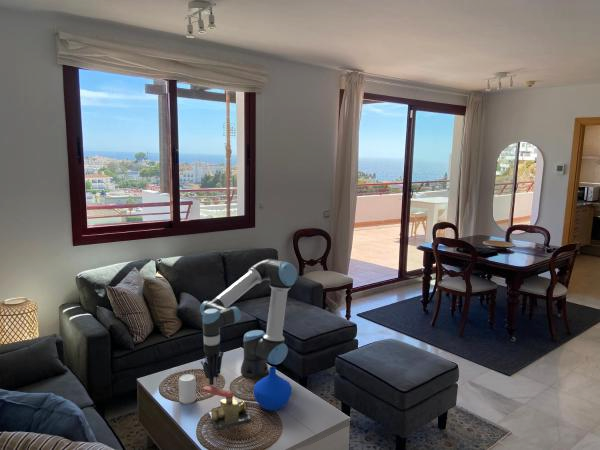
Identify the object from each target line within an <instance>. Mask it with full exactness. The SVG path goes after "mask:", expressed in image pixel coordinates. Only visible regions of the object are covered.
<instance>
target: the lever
mask: <svg viewBox="0 0 600 450" xmlns="http://www.w3.org/2000/svg"><path fill="white" fill-rule="evenodd" d="M202 393H206V394H210V395H215V396H219V397H223V398H225V399H226V398H232V397H234V392H233V390H226V389H222V388H218V387H217V388H214V387H210V385H209V386H208V385H205V386H203V388H202Z"/></svg>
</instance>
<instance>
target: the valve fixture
mask: <svg viewBox="0 0 600 450" xmlns="http://www.w3.org/2000/svg"><path fill="white" fill-rule="evenodd" d="M208 416H209V418H210V420H211V421H212V423H213V426H214V428H215V430H216V431H218V430H221V429H225V428H228V427H232V426H236V425H239V424H242V423H248V422H251V420H252V417H251V415H249V413H248V404H247V402H246V401H245V400H241V402H240V403H239V402H238V401H237V399H236V398H235V397H234V396H233V397H232V398H226V397H225V398H224V399H220V408H216V407H213V408H212V409H211V411H208Z"/></svg>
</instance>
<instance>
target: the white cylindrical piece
mask: <svg viewBox="0 0 600 450" xmlns="http://www.w3.org/2000/svg"><path fill="white" fill-rule="evenodd" d="M196 382H197V381H196V377H195V375H194V374H192V373H186V374H183V375H180V376H179V379H178V400H179V402H180V403H181V404H185V405H187V404H192V403H194V402H195V401H196V399H197V385H196V384H197V383H196Z"/></svg>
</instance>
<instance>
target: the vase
mask: <svg viewBox="0 0 600 450" xmlns="http://www.w3.org/2000/svg"><path fill="white" fill-rule="evenodd" d="M276 372H277V369H276V367H275V366H270V367H269V373H268V374H267V376H266V375H265V376H264V377H263V378H261V379H260V380H258V381H257V382H256V383H255V385H254V387H253V395H254V399H255V401H256V403H257V404H258V405H259V406H260V407H261V408H262V409H264V410H267V411H279V410H280V409H282V408H284V407H285V406H286V405H287V403H288V402H289V401H290V398H291V396H292V385H291V384H290V381H288V380H287V379H285V378H282V377H281V376H279V375H278V374H277V373H276Z"/></svg>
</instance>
